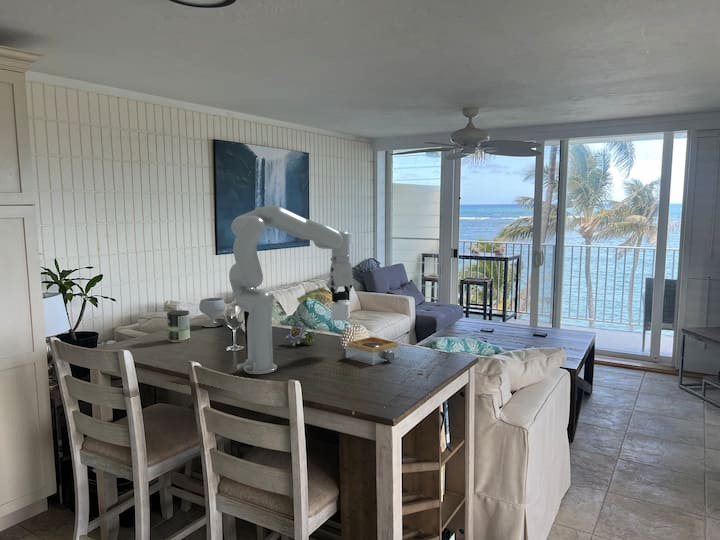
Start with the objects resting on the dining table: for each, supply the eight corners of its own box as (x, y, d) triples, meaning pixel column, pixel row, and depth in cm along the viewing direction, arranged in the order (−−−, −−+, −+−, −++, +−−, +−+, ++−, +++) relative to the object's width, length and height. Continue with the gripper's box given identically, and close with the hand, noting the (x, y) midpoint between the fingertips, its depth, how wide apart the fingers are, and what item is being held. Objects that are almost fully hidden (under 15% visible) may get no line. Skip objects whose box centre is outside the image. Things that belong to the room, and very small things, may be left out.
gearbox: (378, 366, 202) (377, 350, 201) (345, 357, 215) (345, 342, 215) (404, 358, 213) (404, 343, 212) (372, 350, 226) (372, 336, 226)
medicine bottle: (350, 317, 226) (349, 290, 225) (348, 320, 219) (347, 293, 218) (334, 317, 227) (333, 290, 225) (331, 320, 219) (331, 292, 218)
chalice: (208, 329, 273) (207, 302, 271) (195, 326, 282) (194, 299, 280) (231, 325, 283) (230, 299, 281) (217, 322, 292) (216, 296, 291)
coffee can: (167, 343, 243) (166, 314, 242) (168, 339, 253) (167, 311, 251) (190, 342, 246) (188, 313, 245) (190, 337, 256) (189, 309, 254)
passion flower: (294, 357, 237) (279, 336, 237) (306, 347, 247) (292, 327, 247) (310, 346, 231) (294, 325, 232) (321, 336, 241) (306, 316, 241)
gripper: (331, 261, 212) (331, 304, 213) (360, 259, 223) (361, 299, 225) (319, 260, 217) (320, 302, 219) (349, 258, 229) (349, 298, 231)
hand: (340, 300), depth 222 cm, fingers closed on medicine bottle, 6 cm apart
